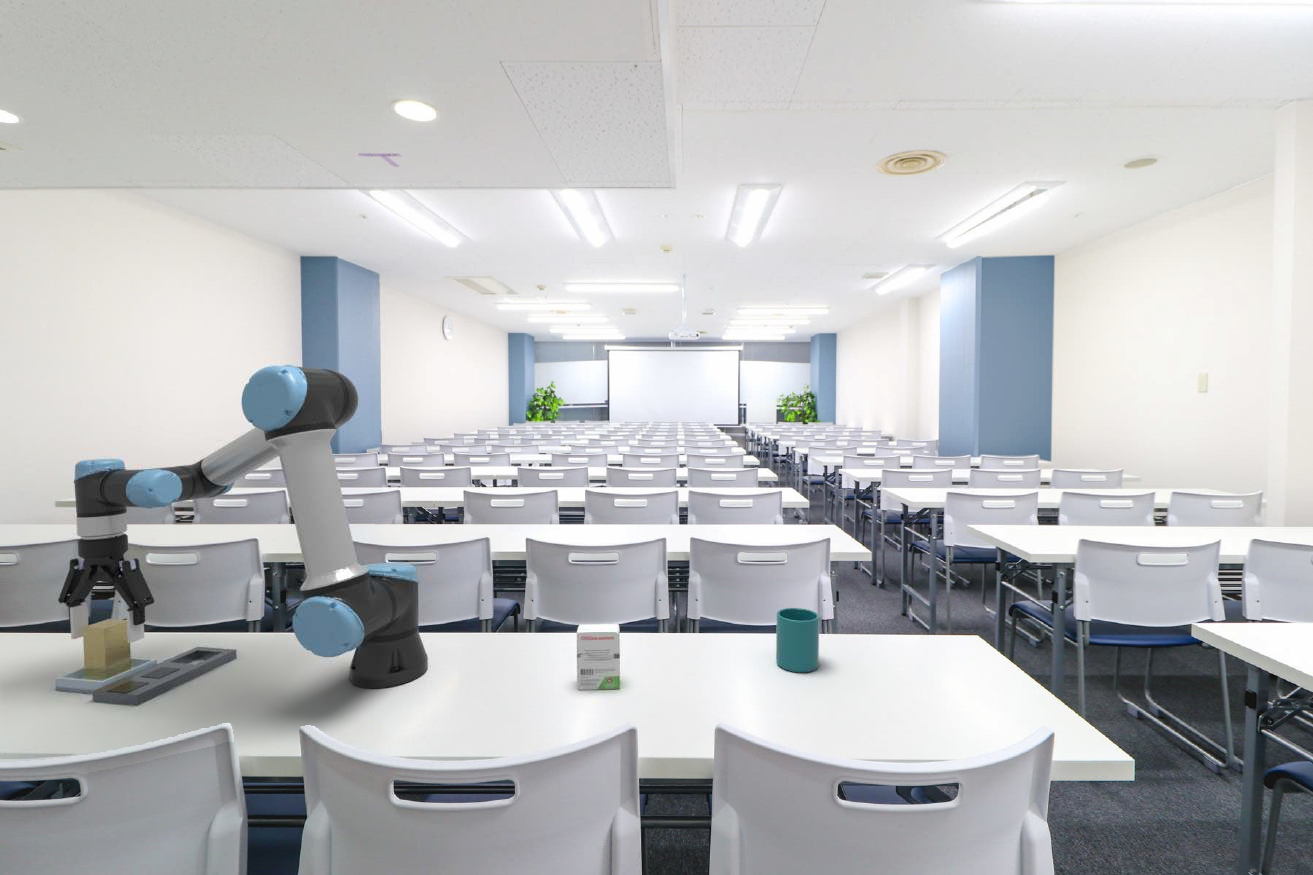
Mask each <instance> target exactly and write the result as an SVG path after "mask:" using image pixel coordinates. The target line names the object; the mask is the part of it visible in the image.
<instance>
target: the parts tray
mask: <svg viewBox="0 0 1313 875" xmlns="http://www.w3.org/2000/svg"><path fill="white" fill-rule="evenodd" d="M156 664H158V659H157V658H143V657H131V669H130V670H127V671H125V672H123V673H120V674H118V675H115V676H113V677H110V678H108V679H106V680H103V681H100V680H89V679H85V668H84V667H81V668H79V669H76V670H73V671H71V672H67V673H66V674H65V673H64V674H63V675H60V676H57V677H55V678H54V679H55V680H54V682H55V683H54V684H55V691H57V692H67V693H76V694H89V695H93V692H92V691H94V690H96V689H99V688H101V687H103V686H106V685H108V684H110V683H113V682H115V681H118V680H120V679H122V678H125V677H127V676H129V675H132V674H134V673H137V672H139V671H141V670H144V669H146V668H148V667H151V666H153V665H156Z"/></svg>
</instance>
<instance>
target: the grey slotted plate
mask: <svg viewBox="0 0 1313 875" xmlns="http://www.w3.org/2000/svg"><path fill="white" fill-rule="evenodd" d="M237 654H238V653H237V649H235V648H234V649H233V648H220V647H207V646H195V647H194V648H191V649H188V650H187V651H184V652H181V653H180V654H177V655H174V656H172V657H171V658H170V657H169V658H168V659H166V660H162V661H161V662H160V661H159V662H157V664H156V665H153V666H151V667H148V668H146V669H144V670H141V671H139V672H137V673H134V674H132V675H129V676H127V677H125V678H122V679H120V680H118V681H115V682H113V683H110V684H108V685H106V686H103V687H101V688H99V689H96V690H94V691H92V692H93V694H92V702H95V703H107V704H116V705H117V704H118V705H127V706H137V707H138V706H140V705H143V704H144V703H146V702H148V701H150V700H152V699H154V698H157V697H159V696H161V695H163V694H165V693H167V692H169V691H171V690H174V689H175V688H178V687H180V686H182V685H184V684H186V683H188V682H190V681H192V680H194V679H196V678H197V679H198V677H201V676H203V675H205V674H207V673H209V672H211V671H213V670H215V669H217V668H220V667H221V666H223V665H226V664H228V663H230V662H232V661H234V660H236V659H238V658H237V657H238V655H237ZM196 660H201V661H200V662H198V663H192V662H194V661H196Z"/></svg>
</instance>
